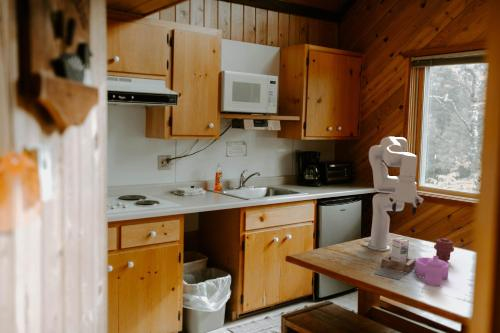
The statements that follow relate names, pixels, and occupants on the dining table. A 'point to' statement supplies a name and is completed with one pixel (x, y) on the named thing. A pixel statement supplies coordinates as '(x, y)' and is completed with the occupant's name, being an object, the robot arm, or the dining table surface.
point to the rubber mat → (390, 273)
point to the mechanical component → (443, 249)
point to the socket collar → (398, 264)
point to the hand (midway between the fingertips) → (403, 213)
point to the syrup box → (400, 250)
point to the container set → (432, 270)
